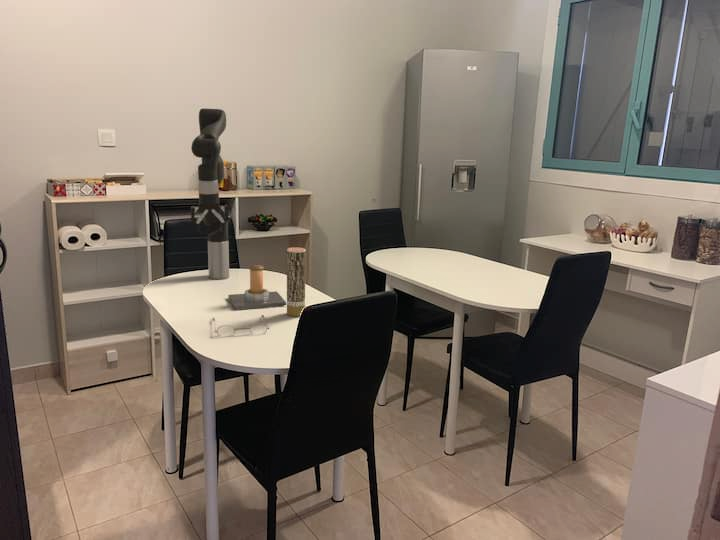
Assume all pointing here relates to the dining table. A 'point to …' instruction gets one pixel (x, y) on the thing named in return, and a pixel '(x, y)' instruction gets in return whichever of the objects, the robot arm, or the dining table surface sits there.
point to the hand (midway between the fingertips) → (210, 231)
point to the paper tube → (295, 280)
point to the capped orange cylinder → (256, 279)
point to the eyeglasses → (240, 328)
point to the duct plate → (256, 300)
